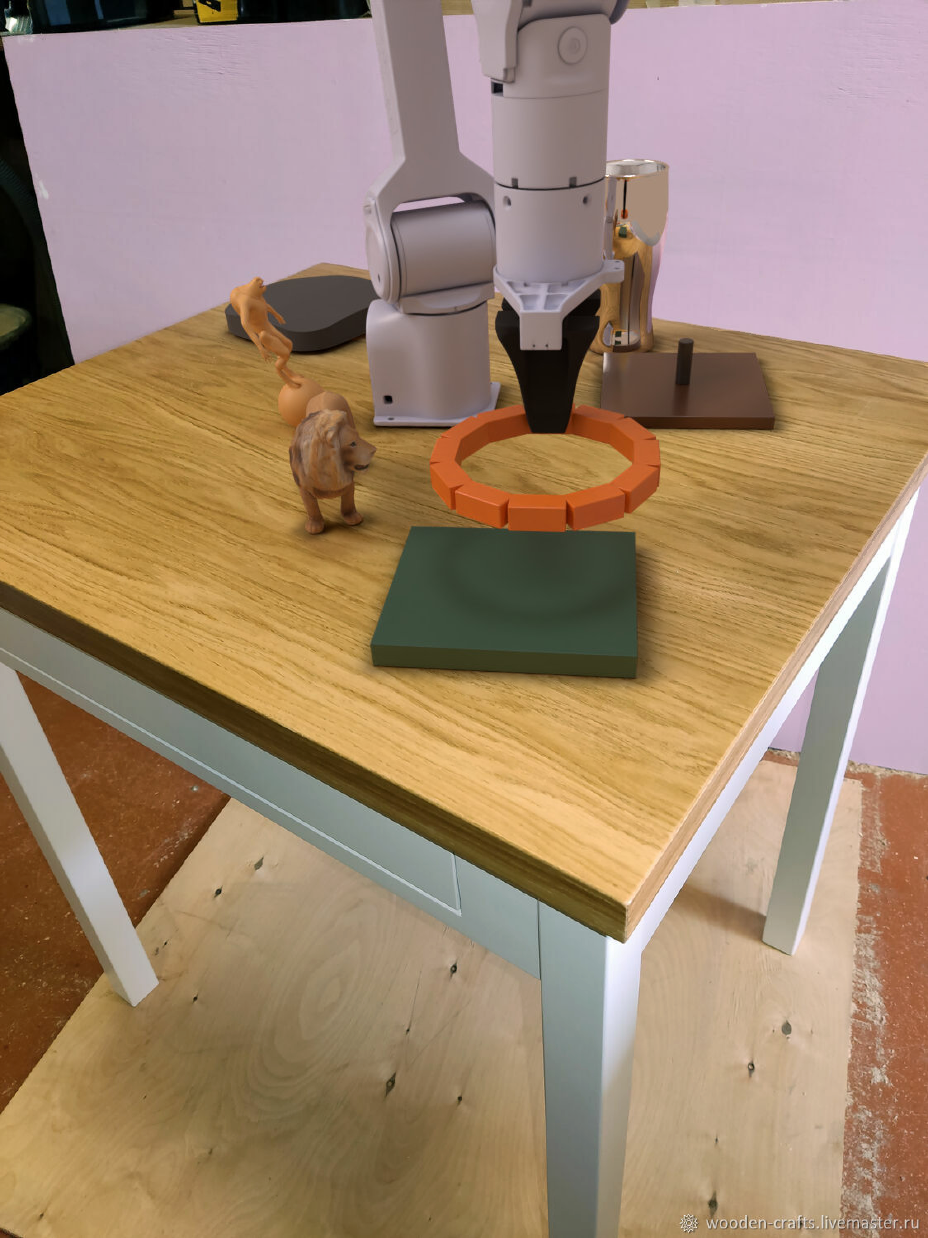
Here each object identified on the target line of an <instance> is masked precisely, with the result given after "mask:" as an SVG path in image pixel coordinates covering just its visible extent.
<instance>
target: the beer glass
mask: <svg viewBox="0 0 928 1238" xmlns="http://www.w3.org/2000/svg"><path fill="white" fill-rule="evenodd" d="M669 179H670V165H669V164H668V163H666V162H664V161H661V160H655V159H645V158H626V159H625V158H623V159H613V160H606V183H605V213H604V242H603V259H605V260H621V261H623V262H624V280H623V281H622V282H620V283H607V284H603V285H602V286H600V287H599V289H600V290H601V306H600V308H599V310H598V311H597V313H596V315H595V316H600V326H599V330H598V332H597V334H596V336H595V339H594V341H593V342H592V344H591V346H590V347H589V349H590V350H591V351H592V352H594V353H596V354H599V355H603V353H648V351H650V350H651V349H652V348H653V347H654V345H655V335H654V326H653V300H654V295H655V290H656V285H657V280H658V277H659V272H660V268H661V265H662V261H663V255H664V251H665V246H666V240H667V234H668V224H669V211H670V210H669V207H670V184H669V183H670V180H669Z"/></svg>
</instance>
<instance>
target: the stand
mask: <svg viewBox="0 0 928 1238" xmlns="http://www.w3.org/2000/svg"><path fill="white" fill-rule="evenodd" d="M636 534H637V533H636V531H623V530H622V531H621V530H619V531H618V530H617V531H616V530H584V529H580V530H576V531H573V530H572V529H566V531H565V532H547V531H510V530H509V529H508V527H507V528H504V527H503V528H501V529H499V528H496V527H467V526H466V527H465V526H464V527H463V526H431V525H430V526H428V525H427V526H426V525H411V526H410V529H409V533H408V535H407V537H406V540H405V544H404V547H403V550H402V552H401V555H400V557H399V561H398V564H397V566H396V569H395V573H394V575H393V578H392V581H391V583H390V587H389V589H388V592H387V595H386V598H385V601H384V603H383V606H382V609H381V612H380V615H379V617H378V621H377V623H376V626H375V629H374V631H373V635H372V636H371V641H370V643H369V646H370V651H371V653H370V654H371V659H372V665H373V666H378V667H382V666H383V667H400V668H401V667H402V668H418V669H419V668H420V669H439V670H460V671H461V670H462V671H483V672H501V673H502V672H504V673H520V674H521V673H523V674H525V673H526V674H543V675H544V674H545V675H563V676H580V677H581V676H583V677H605V678H622V679H623V678H624V679H625V678H626V679H636V678H637V670H638V657H639V656H638V655H639V654H638V653H639V652H638V602H637V601H638V597H637V594H638V593H637V592H638V591H637V540H636V539H637V537H636Z"/></svg>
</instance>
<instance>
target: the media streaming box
mask: <svg viewBox="0 0 928 1238" xmlns="http://www.w3.org/2000/svg"><path fill="white" fill-rule="evenodd" d="M265 286H266V291H265V292H264V293H263V294H262V296H263V297H264V299H265V301H266V303H267V304H269V305H270V306H271V307H272V308H273V309H274V310H275V311H276V312H277V313H278V314H279V315H280V316H281V317H282V318H283V320H284V321H285V323H286V324H285V323H284V324H283V323H282V322H281V321H280V322H281V324H280V323H279V321H278V320H277V319H276V317H275V316H274V315H273V314H272V313H270V312H268V311H267V316H268V322H270V323H271V325H272V326H274V327H275V329H276V330H278V331H279V332H280V333H282V334H283V335H284V336H285V337H286V338H288V339H289V340H291V342H292V344H293V347H292V351H293V352H312V351H320V350H325V349H328V348H329V349H330V348H332V347H336V346H337V345H341V344H343V343H346V342H348V341H349V340H352V339H354V338H357V337H359V336H361V335H363V334H366V322H367V314H368V309H369V306H370V304H371V302H372V301H374V300H378V299H382V298H380V297H379V296H378V295H377V293H376V291H375V289H374V287H373V284H372V281H371V279H368V278H364V277H360V276H359V277H358V276H354V275H345V274H344V275H343V274H341V275H340V274H331V275H330V274H329V275H318V276H304V277H297V278H289V279H285V280H280V281H276V282H273V283H269V284H265ZM224 314H225V319H226V324H227V329H228V332H229V333H230V334H232V335H233V336H236V337H240V338H243V339H246V340H249V341H252V339H251V338H250V336H249V335H248V334H247V332H246V331H245V329H244V328H243V326H242V324H241V317H240V315H239V314H238V313H237V312H236V311H235V309H234V308H233V306H232V304H231V302H230V303H229V304H228V305H227V306H226V307H225V309H224ZM254 333H255V332H254ZM255 334H256V333H255ZM256 335H257V336H258V334H256ZM258 338H259V336H258ZM292 351H291V352H292Z"/></svg>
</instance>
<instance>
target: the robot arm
mask: <svg viewBox="0 0 928 1238" xmlns="http://www.w3.org/2000/svg"><path fill="white" fill-rule="evenodd" d="M630 2H631V0H470V3H471V8H472V12H473V16H474V19H475V23H476V30H477V37H478V38H477V39H478V54H479V56H478V57H479V63H480V64H481V73H482V75H483V76H484V77H486V78H490V103H491V104H490V107H491V133H492V167H493V175H492V174H490V173H489V172H488V171H487V170H485V169H484V168H483V167H481V166H480V165H479V164H477V163H475V162H474V161H473V160H471V159H470V158H469V157H467V156H466V155H464V154H463V152H461V150H460V143H459V136H458V128H457V119H456V112H455V110H456V109H455V104H454V103H455V102H454V95H453V88H452V78H451V72H450V71H451V70H450V63H449V55H448V54H449V53H448V47H447V39H446V30H445V22H444V14H443V6H442V0H369V5H370V11H371V12H370V13H371V18H372V25H373V26H372V27H373V32H374V39H375V45H376V52H377V58H378V65H379V72H380V78H381V86H382V91H383V98H384V105H385V110H386V118H387V124H388V130H389V131H388V132H389V137H390V144H391V151H392V160H391V161H390V162H389V164H388V166H387V167H386V168H385V169H384V170H383V171H382V172H381V173H380V174H379V175H378V177H377V178H376V179H375V180H374V181H373V182H372V183H371V184H370V186H369V187H368V189H367V190H366V192H365V195H364V198H363V202H362V213H363V214H362V215H363V220H364V249H365V257H366V264H367V269H368V273H369V277H370V280H371V281H372V284H373V287H374V289H375V291H376V293H377V295H378V296H379V297H380V298H382V299H378V300H374V301H372V302H371V304H370V306H369V309H368V314H367V322H366V333H365V343H366V355H367V362H368V369H369V378H370V385H371V387H370V388H371V394H372V402H373V403H372V404H373V410H374V417H373V425H374V426H376V427H377V426H378V427H454V426H456V425H457V424H459V423H460V422H462V421H464V420H465V419H467V418H469V417H470V416H473V417H476V418H477V414H479V413H483V412H488V411H492V410H496V407H497V403H498V400H499V396H500V393H501V387H502V386H501V382H499V381H491V359H490V358H491V356H490V335H489V329H490V328H489V309H488V301H489V300H494V299H495V298H496V292H495V291H496V289H497V291H498V292H499V293H500V294H501V296H502V297H503V298H502V301H501V305H500V307H501V310H498V311H497V312H496V316H495V318H494V330H495V333H496V336H497V339H498V341H499V342H500V345H501V346H502V347H503V349H504V350H505V353H506V354H507V357H508V358H509V360H510V362H511V365H512V367H513V370H514V373H515V375H516V378H517V382H518V386H519V391H520V395H521V400H522V406H523V407H524V409H525V414H526V418H527V421H528V425H529V428H530V430H531V432H532V433H565V432H566V429H567V426H568V423H569V419H570V415H571V410H572V405H573V403H574V400H575V399H574V398H575V395H576V388H577V383H578V379H579V374H580V371H581V368H582V365H583V363H584V360H585V358H586V356H587V353H588V351H589V349H590V348H589V347H590V346H591V344H592V342H593V341H594V339H595V336H596V334H597V332H598V330H599V326H600V316H595V315H596V313H597V311H598V310H599V308H600V306H601V290H600V289H599V287H600V286H602V285H603V284H607V283H620V282H622V281H623V280H624V262H623V261H621V260H605V259H603V242H604V213H605V183H606V161H607V156H608V154H607V153H608V129H609V127H608V125H609V98H610V96H609V95H610V69H611V64H610V63H611V42H612V41H611V40H612V26H613V25H615V24H616V23H618V22H619V21H621V19H622V18H623V16H624V15H625V13H626V11H627V10H628V7H629V4H630ZM443 198H458V199H460V200H461V201H462V202H453V203H447V204H439V205H434V206H426V207H419V208H418V207H417V208H411V209H405V210H399V211H395V210H396V209H397V207H398V206H400V205H402V204H408V203H415V202H416V203H417V202H423V201H430V200H438V199H443ZM495 288H496V289H495Z"/></svg>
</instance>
